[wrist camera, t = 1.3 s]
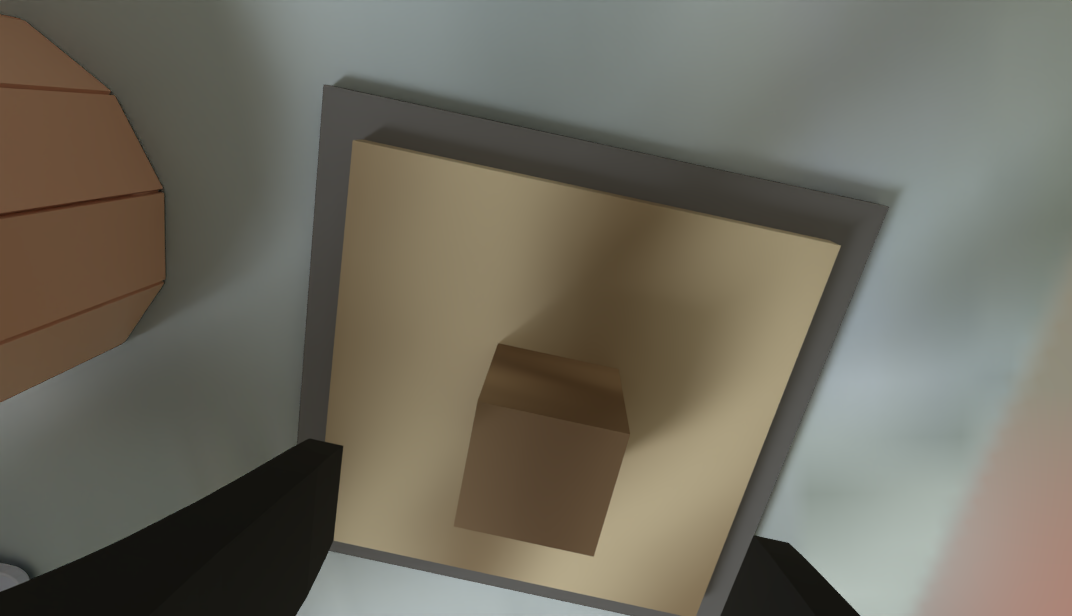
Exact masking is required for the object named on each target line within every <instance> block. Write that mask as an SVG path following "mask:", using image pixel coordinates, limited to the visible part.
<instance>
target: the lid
mask: <svg viewBox="0 0 1072 616" xmlns="http://www.w3.org/2000/svg"><path fill="white" fill-rule="evenodd" d="M840 247H841V245H838V244H836V243H834V242H832V241H829V240H825V239H821V238H816V237H811V236H807V235H802V234H797V233H793V232H788V231H784V230H779V229H774V228H770V227H765V226H760V225H756V224H751V223H747V222H742V221H737V220H733V219H728V218H724V217H719V216H714V215H710V214H705V213H700V212H696V211H691V210H687V209H682V208H677V207H673V206H668V205H663V204H659V203H654V202H650V201H645V200H640V199H636V198H631V197H626V196H622V195H617V194H613V193H608V192H603V191H599V190H594V189H589V188H585V187H580V186H576V185H571V184H566V183H562V182H557V181H552V180H548V179H543V178H539V177H534V176H529V175H525V174H520V173H515V172H511V171H506V170H502V169H497V168H492V167H488V166H483V165H478V164H474V163H469V162H465V161H460V160H455V159H451V158H446V157H441V156H437V155H432V154H428V153H423V152H418V151H414V150H409V149H404V148H400V147H395V146H391V145H386V144H381V143H377V142H372V141H367V140H363V139H362V140H353V143H352V154H351V165H350V176H349V187H348V198H347V208H346V219H345V230H344V241H343V252H342V263H341V274H340V284H339V295H338V306H337V317H336V328H335V339H334V349H333V360H332V371H331V382H330V393H329V404H328V414H327V425H326V436H325V442H328V443H333V444H338V445H342V446H343V455H342V464H341V474H340V484H339V493H338V503H337V513H336V522H335V532H334V541H338V542H342V543H347V544H352V545H356V546H361V547H366V548H370V549H375V550H380V551H384V552H389V553H393V554H398V555H403V556H407V557H412V558H417V559H421V560H426V561H431V562H435V563H440V564H445V565H449V566H454V567H458V568H463V569H468V570H472V571H477V572H482V573H486V574H491V575H496V576H500V577H505V578H510V579H514V580H519V581H523V582H528V583H533V584H537V585H542V586H547V587H551V588H556V589H561V590H565V591H570V592H574V593H579V594H584V595H588V596H593V597H598V598H602V599H607V600H612V601H616V602H621V603H626V604H630V605H635V606H639V607H644V608H649V609H653V610H658V611H663V612H667V613H672V614H677V615H681V616H696V615H697V612H698V610H699V607H700V605H701V602H702V599H703V597H704V594H705V592H706V589H707V587H708V584H709V582H710V579H711V576H712V574H713V571H714V569H715V566H716V564H717V561H718V559H719V556H720V553H721V551H722V548H723V546H724V543H725V541H726V538H727V536H728V533H729V530H730V528H731V525H732V523H733V520H734V518H735V515H736V513H737V510H738V507H739V505H740V502H741V500H742V497H743V495H744V492H745V490H746V487H747V485H748V482H749V479H750V477H751V474H752V472H753V469H754V467H755V464H756V462H757V459H758V456H759V454H760V451H761V449H762V446H763V444H764V441H765V439H766V436H767V433H768V431H769V428H770V426H771V423H772V421H773V418H774V416H775V413H776V410H777V408H778V405H779V403H780V400H781V398H782V395H783V393H784V390H785V388H786V385H787V382H788V380H789V377H790V375H791V372H792V370H793V367H794V365H795V362H796V359H797V357H798V354H799V352H800V349H801V347H802V344H803V342H804V339H805V336H806V334H807V331H808V329H809V326H810V324H811V321H812V319H813V316H814V313H815V311H816V308H817V306H818V303H819V301H820V298H821V296H822V293H823V291H824V288H825V285H826V283H827V280H828V278H829V275H830V273H831V270H832V268H833V265H834V262H835V260H836V257H837V255H838V252H839V250H840Z"/></svg>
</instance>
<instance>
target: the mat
mask: <svg viewBox="0 0 1072 616" xmlns="http://www.w3.org/2000/svg"><path fill="white" fill-rule="evenodd" d="M362 139H363V140H367V141H372V142H377V143H381V144H386V145H391V146H395V147H400V148H404V149H409V150H414V151H418V152H423V153H428V154H432V155H437V156H441V157H446V158H451V159H455V160H460V161H465V162H469V163H474V164H478V165H483V166H488V167H492V168H497V169H502V170H506V171H511V172H515V173H520V174H525V175H529V176H534V177H539V178H543V179H548V180H552V181H557V182H562V183H566V184H571V185H576V186H580V187H585V188H589V189H594V190H599V191H603V192H608V193H613V194H617V195H622V196H626V197H631V198H636V199H640V200H645V201H650V202H654V203H659V204H663V205H668V206H673V207H677V208H682V209H687V210H691V211H696V212H700V213H705V214H710V215H714V216H719V217H724V218H728V219H733V220H737V221H742V222H747V223H751V224H756V225H760V226H765V227H770V228H774V229H779V230H784V231H788V232H793V233H797V234H802V235H807V236H811V237H816V238H821V239H825V240H829V241H832V242H834V243H836V244H838V245H841V247H840V250H839V252H838V255H837V257H836V260H835V262H834V265H833V268H832V270H831V273H830V275H829V278H828V280H827V283H826V285H825V288H824V291H823V293H822V296H821V298H820V301H819V303H818V306H817V308H816V311H815V313H814V316H813V319H812V321H811V324H810V326H809V329H808V331H807V334H806V336H805V339H804V342H803V344H802V347H801V349H800V352H799V354H798V357H797V359H796V362H795V365H794V367H793V370H792V372H791V375H790V377H789V380H788V382H787V385H786V388H785V390H784V393H783V395H782V398H781V400H780V403H779V405H778V408H777V410H776V413H775V416H774V418H773V421H772V423H771V426H770V428H769V431H768V433H767V436H766V439H765V441H764V444H763V446H762V449H761V451H760V454H759V456H758V459H757V462H756V464H755V467H754V469H753V472H752V474H751V477H750V479H749V482H748V485H747V487H746V490H745V492H744V495H743V497H742V500H741V502H740V505H739V507H738V510H737V513H736V515H735V518H734V520H733V523H732V525H731V528H730V530H729V533H728V536H727V538H726V541H725V543H724V546H723V548H722V551H721V553H720V556H719V559H718V561H717V564H716V566H715V569H714V571H713V574H712V576H711V579H710V582H709V584H708V587H707V589H706V592H705V594H704V597H703V599H702V602H701V605H700V607H699V610H698V612H697V615H696V616H720V615H721V613H722V610H723V608H724V606H725V603H726V601H727V598H728V596H729V593H730V591H731V589H732V586H733V584H734V581H735V579H736V577H737V574H738V572H739V569H740V567H741V564H742V562H743V560H744V557H745V555H746V552H747V550H748V547H749V545H750V543H751V540H752V538H753V535H754V534H755V532H756V529H757V527H758V524H759V522H760V520H761V517H762V515H763V512H764V510H765V507H766V505H767V503H768V500H769V498H770V495H771V493H772V490H773V488H774V486H775V483H776V481H777V478H778V476H779V473H780V471H781V469H782V466H783V464H784V461H785V459H786V456H787V454H788V451H789V449H790V447H791V444H792V442H793V439H794V437H795V434H796V432H797V430H798V427H799V425H800V422H801V420H802V417H803V415H804V413H805V410H806V408H807V405H808V403H809V400H810V398H811V396H812V393H813V391H814V388H815V386H816V383H817V381H818V379H819V376H820V374H821V371H822V369H823V366H824V364H825V361H826V359H827V357H828V354H829V352H830V349H831V347H832V344H833V342H834V340H835V337H836V335H837V332H838V330H839V327H840V325H841V323H842V320H843V318H844V315H845V313H846V310H847V308H848V306H849V303H850V301H851V298H852V296H853V293H854V291H855V288H856V286H857V284H858V281H859V279H860V276H861V274H862V271H863V269H864V267H865V264H866V262H867V259H868V257H869V254H870V252H871V250H872V247H873V245H874V242H875V240H876V237H877V235H878V233H879V230H880V228H881V225H882V223H883V220H884V218H885V215H886V213H887V211H888V208H889V207H888V206H884V205H880V204H875V203H871V202H866V201H862V200H857V199H852V198H848V197H843V196H839V195H834V194H829V193H825V192H820V191H815V190H811V189H806V188H802V187H797V186H792V185H788V184H783V183H778V182H774V181H769V180H765V179H760V178H755V177H751V176H746V175H741V174H737V173H732V172H728V171H723V170H718V169H714V168H709V167H704V166H700V165H695V164H691V163H686V162H681V161H677V160H672V159H668V158H663V157H658V156H654V155H649V154H644V153H640V152H635V151H631V150H626V149H621V148H617V147H612V146H607V145H603V144H598V143H594V142H589V141H584V140H580V139H575V138H570V137H566V136H561V135H557V134H552V133H547V132H543V131H538V130H533V129H529V128H524V127H520V126H515V125H510V124H506V123H501V122H497V121H492V120H487V119H483V118H478V117H473V116H469V115H464V114H460V113H455V112H450V111H446V110H441V109H436V108H432V107H427V106H423V105H418V104H413V103H409V102H404V101H399V100H395V99H390V98H386V97H381V96H376V95H372V94H367V93H362V92H358V91H353V90H349V89H344V88H339V87H335V86H330V85H324V87H323V100H322V114H321V127H320V141H319V155H318V168H317V182H316V195H315V209H314V223H313V236H312V250H311V264H310V277H309V291H308V304H307V318H306V332H305V345H304V359H303V372H302V386H301V400H300V413H299V427H298V440H297V445H298V444H299V443H301V442H303V441H305V440H307V439H309V438H310V439H315V440H319V441H324V442H325V436H326V425H327V414H328V404H329V393H330V382H331V371H332V360H333V349H334V339H335V328H336V317H337V306H338V295H339V284H340V274H341V263H342V252H343V241H344V230H345V219H346V208H347V198H348V187H349V176H350V165H351V154H352V143H353V140H362ZM329 551H333V552H338V553H343V554H347V555H352V556H356V557H361V558H366V559H370V560H375V561H380V562H384V563H389V564H394V565H398V566H403V567H408V568H412V569H417V570H421V571H426V572H431V573H435V574H440V575H445V576H449V577H454V578H459V579H463V580H468V581H473V582H477V583H482V584H486V585H491V586H496V587H500V588H505V589H510V590H514V591H519V592H524V593H528V594H533V595H537V596H542V597H547V598H551V599H556V600H561V601H565V602H570V603H575V604H579V605H584V606H589V607H593V608H598V609H602V610H607V611H612V612H616V613H621V614H626V615H630V616H681V615H677V614H672V613H667V612H663V611H658V610H653V609H649V608H644V607H639V606H635V605H630V604H626V603H621V602H616V601H612V600H607V599H602V598H598V597H593V596H588V595H584V594H579V593H574V592H570V591H565V590H561V589H556V588H551V587H547V586H542V585H537V584H533V583H528V582H523V581H519V580H514V579H510V578H505V577H500V576H496V575H491V574H486V573H482V572H477V571H472V570H468V569H463V568H458V567H454V566H449V565H445V564H440V563H435V562H431V561H426V560H421V559H417V558H412V557H407V556H403V555H398V554H393V553H389V552H384V551H380V550H375V549H370V548H366V547H361V546H356V545H352V544H347V543H342V542H338V541H333V543H332V545H331V547H330V549H329Z"/></svg>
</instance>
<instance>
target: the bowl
mask: <svg viewBox="0 0 1072 616" xmlns="http://www.w3.org/2000/svg"><path fill="white" fill-rule="evenodd" d="M110 93H111V91H110V90H109V89H108V88H107V87H106V86H104V85H103V84H102V83H101V82H99V81H98V80H97V79H96V78H95V77H93V76H92V75H91V74H90V73H88V72H87V71H86V70H85V69H84V68H82V67H81V66H80V65H79V64H77V63H76V62H75V61H74V60H72V59H71V58H70V57H69V56H68V55H66V54H65V53H64V52H63V51H61V50H60V49H59V48H58V47H57V46H55V45H54V44H53V43H52V42H50V41H49V40H48V39H47V38H45V37H44V36H43V35H42V34H41V33H39V32H38V31H37V30H36V29H34V28H33V27H32V26H31V25H30V24H28V23H27V22H26V21H24V20H21V19H20V18H16V17H11V16H7V15H2V14H0V402H2V401H4V400H6V399H9V398H11V397H13V396H15V395H17V394H19V393H21V392H23V391H25V390H27V389H29V388H31V387H33V386H36V385H38V384H40V383H42V382H44V381H46V380H48V379H50V378H52V377H54V376H56V375H58V374H61V373H63V372H65V371H67V370H69V369H71V368H73V367H75V366H77V365H79V364H81V363H83V362H85V361H88V360H90V359H92V358H94V357H96V356H98V355H100V354H102V353H104V352H106V351H108V350H110V349H113V348H115V347H117V346H119V345H121V344H122V343H124V342H125V341H126V339H127V338H128V336H129V335H130V333H131V332H132V330H133V329H134V328H135V326H136V325H137V323H138V322H139V320H140V319H141V317H142V316H143V314H144V313H145V311H146V310H147V308H148V307H149V305H150V304H151V302H152V301H153V299H154V298H155V296H156V295H157V293H158V292H159V290H160V289H161V287H162V286H163V284H164V282H163V281H162V280H165V213H164V193H162V192H158V190H160V189H163V187H162V186H161V184H160V182H159V180H158V178H157V176H156V174H155V172H154V170H153V168H152V166H151V164H150V162H149V160H148V159H147V157H146V155H145V153H144V151H143V149H142V147H141V145H140V143H139V141H138V139H137V137H136V135H135V134H134V132H133V130H132V128H131V126H130V124H129V122H128V120H127V118H126V116H125V114H124V112H123V110H122V108H121V107H120V105H119V103H118V101H117V99H116V97H115V95H110Z"/></svg>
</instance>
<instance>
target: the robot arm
mask: <svg viewBox="0 0 1072 616" xmlns="http://www.w3.org/2000/svg"><path fill="white" fill-rule="evenodd" d="M342 455H343V446H342V445H338V444H333V443H328V442H324V441H319V440H315V439H310V438H309V439H307V440H305V441H303V442H301V443H299V444H298V445H296V446H294V447H292V448H291V449H289V450H287V451H285V452H284V453H282V454H280V455H278V456H277V457H275V458H273V459H272V460H270V461H268V462H266V463H265V464H263V465H261V466H259V467H258V468H256V469H254V470H252V471H251V472H249V473H247V474H245V475H244V476H242V477H240V478H238V479H237V480H235V481H233V482H231V483H229V484H228V485H226V486H224V487H222V488H221V489H219V490H217V491H215V492H213V493H212V494H210V495H208V496H206V497H204V498H203V499H201V500H199V501H197V502H195V503H193V504H191V505H189V506H187V507H185V508H183V509H181V510H179V511H177V512H175V513H173V514H171V515H169V516H168V517H166V518H164V519H162V520H160V521H158V522H156V523H154V524H152V525H150V526H148V527H146V528H144V529H142V530H140V531H138V532H136V533H134V534H132V535H130V536H128V537H126V538H124V539H122V540H120V541H118V542H115V543H113V544H111V545H109V546H107V547H105V548H103V549H100V550H98V551H96V552H94V553H91V554H89V555H87V556H85V557H83V558H80V559H78V560H76V561H73V562H71V563H69V564H66V565H64V566H62V567H59V568H57V569H55V570H52V571H50V572H47V573H45V574H43V575H40V576H38V577H36V578H33V579H31V580H30V579H29V576H28V575H27V573H26V572H25V571H24V570H22V569H21V568H19V567H16V566H13V565H8V564H4V563H0V616H296V614H297V612H298V611H299V609H300V607H301V606H302V604H303V602H304V601H305V599H306V597H307V595H308V593H309V591H310V589H311V587H312V585H313V583H314V581H315V579H316V577H317V575H318V573H319V571H320V569H321V566H322V564H323V562H324V560H325V558H326V556H327V554H328V551H329V549H330V547H331V545H332V543H333V541H334V532H335V522H336V513H337V503H338V493H339V484H340V474H341V464H342ZM720 616H860V615H859V614H858V613H857V612H856V611H855V610H854V609H853V608H852V607H851V605H850V604H849V603H848V602H847V601H846V600H845V599H844V598H843V597H842V596H841V595H840V594H839V593H838V592H837V591H836V590H835V589H834V588H833V587H832V586H831V585H830V584H829V583H828V581H827V580H826V579H825V578H824V577H823V576H822V575H821V574H820V573H819V572H818V571H817V570H816V569H815V568H814V567H813V566H812V565H811V564H810V563H809V562H808V561H807V560H806V559H805V558H804V557H803V556H802V555H801V554H800V553H799V552H798V551H797V550H796V549H794V548H793V547H792V546H791V545H790V544H789V543H786V542H782V541H777V540H773V539H768V538H763V537H759V536H754V535H753V538H752V540H751V543H750V545H749V547H748V550H747V552H746V555H745V557H744V560H743V562H742V564H741V567H740V569H739V572H738V574H737V577H736V579H735V581H734V584H733V586H732V589H731V591H730V593H729V596H728V598H727V601H726V603H725V606H724V608H723V610H722V613H721V615H720Z"/></svg>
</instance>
